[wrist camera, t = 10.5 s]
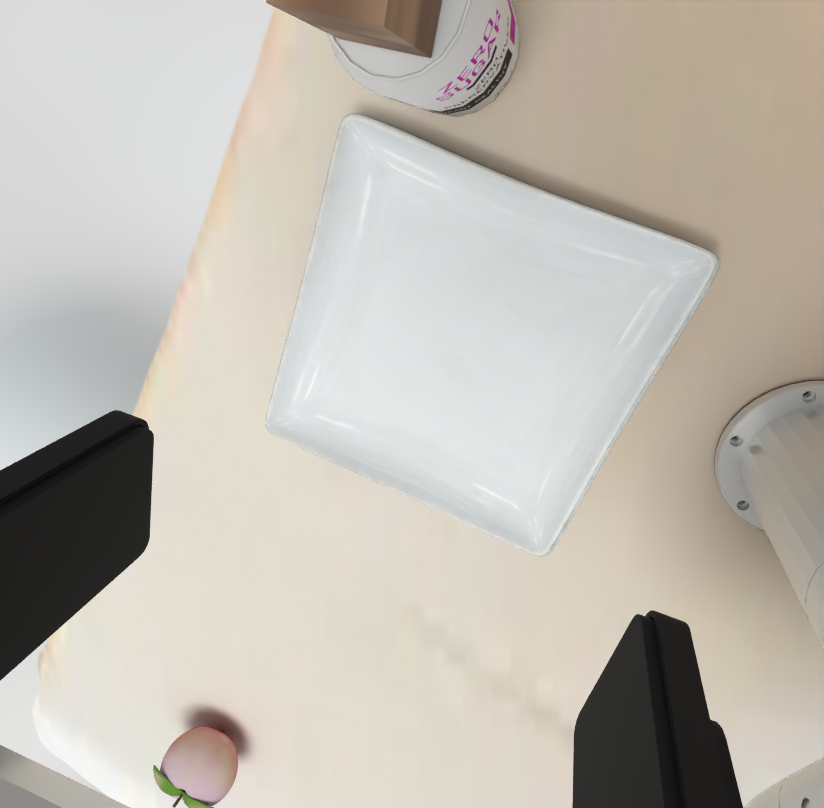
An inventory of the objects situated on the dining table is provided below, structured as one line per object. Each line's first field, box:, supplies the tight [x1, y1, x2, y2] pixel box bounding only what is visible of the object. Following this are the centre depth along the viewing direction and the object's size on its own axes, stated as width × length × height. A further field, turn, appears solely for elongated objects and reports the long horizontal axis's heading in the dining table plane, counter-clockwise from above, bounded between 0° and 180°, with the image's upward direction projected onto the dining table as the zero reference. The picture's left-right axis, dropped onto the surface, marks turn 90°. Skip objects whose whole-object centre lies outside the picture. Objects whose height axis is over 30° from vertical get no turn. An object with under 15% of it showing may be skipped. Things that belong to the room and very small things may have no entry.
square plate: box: [265, 114, 720, 557], centre depth 45 cm, size 27×27×4 cm
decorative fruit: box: [153, 727, 238, 808], centre depth 71 cm, size 9×8×10 cm
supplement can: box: [327, 0, 519, 117], centre depth 32 cm, size 8×8×15 cm
